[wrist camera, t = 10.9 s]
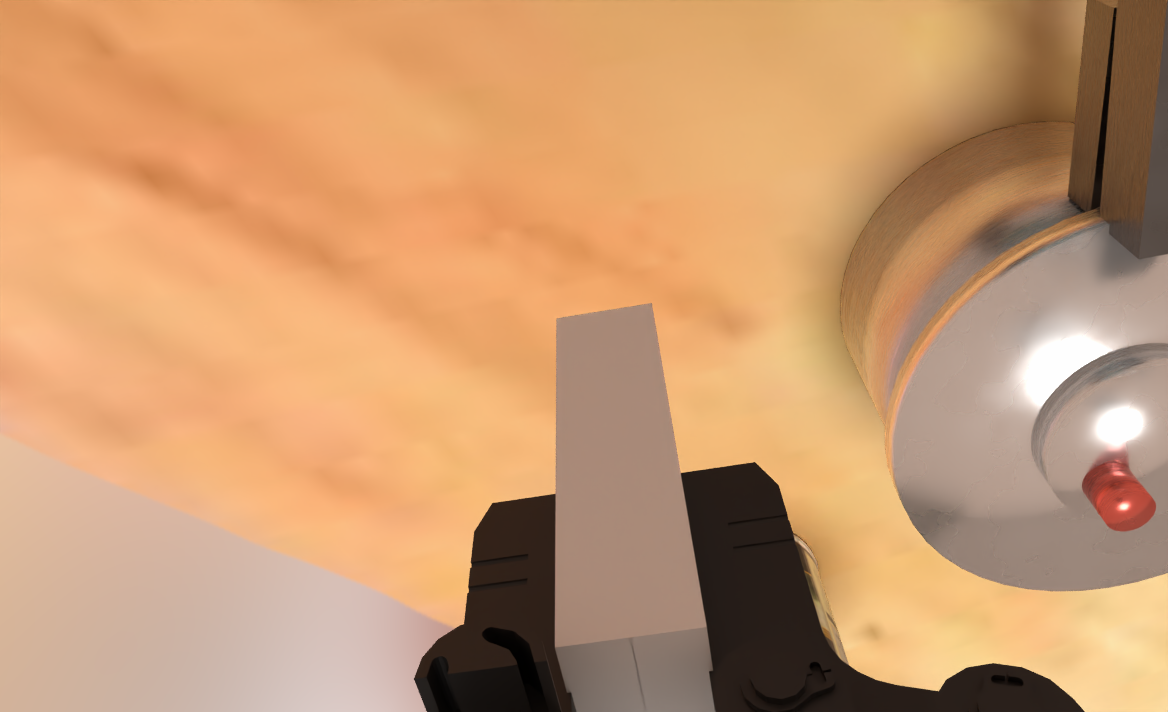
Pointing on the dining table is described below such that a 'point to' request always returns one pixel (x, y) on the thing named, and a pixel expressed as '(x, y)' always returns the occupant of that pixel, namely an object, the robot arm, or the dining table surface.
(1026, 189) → the pot
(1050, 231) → the lid
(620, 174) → the dining table surface
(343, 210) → the dining table surface
